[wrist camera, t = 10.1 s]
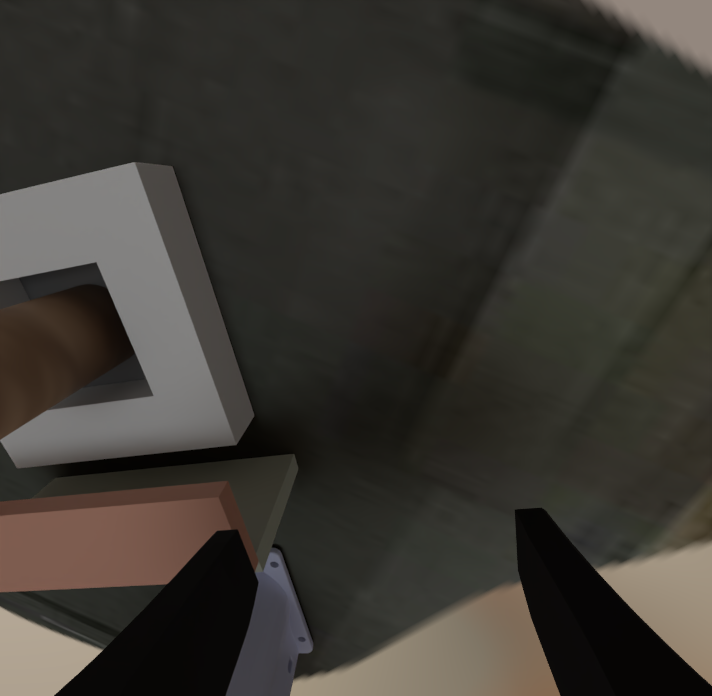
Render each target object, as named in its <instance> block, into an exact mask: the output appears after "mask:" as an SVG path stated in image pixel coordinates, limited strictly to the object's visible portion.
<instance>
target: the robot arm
mask: <svg viewBox="0 0 712 696" xmlns="http://www.w3.org/2000/svg"><path fill="white" fill-rule="evenodd" d="M515 521H516V540H517V560H518V572H519V575H520V579H521V583H522V587H523V590H524V594H525V597H526V601H527V605H528V608H529V612H530V615H531V618H532V621H533V624H534V627H535V629H536V632H537V635H538V637H539V640H540V642H541V645H542V648H543V651H544V653H545V656H546V659H547V661H548V664H549V667H550V669H551V672H552V674H553V677H554V680H555V682H556V685H557V688H558V690H559V693H560V695H561V696H712V686H711V685H710V684H709V683H708V682H707V681H706V680H705V679H703V678H702V677H701V676H700V675H699V674H698V673H697V672H696V671H695V670H694V669H693V668H692V667H691V666H689V665H688V664H687V663H686V662H685V661H684V660H683V659H682V658H681V657H680V656H679V655H678V654H677V653H676V652H675V651H674V650H673V649H672V648H671V647H669V646H668V645H667V644H666V643H665V642H664V641H663V640H662V639H661V638H660V637H659V636H658V635H657V634H656V633H655V632H654V631H653V630H652V629H651V628H650V627H649V626H648V625H647V624H646V623H645V622H644V621H643V620H642V619H641V618H640V617H639V616H638V615H637V614H636V613H635V612H634V611H633V610H632V609H631V608H630V607H629V606H628V604H626V602H624V600H623V599H622V598H621V597H620V596H619V595H618V594H617V593H616V592H615V591H614V590H613V589H612V587H611V586H610V585H609V584H608V583H607V582H606V581H605V580H604V579H603V578H602V577H601V576H600V575H599V573H598V572H597V571H596V570H595V569H594V568H593V567H592V566H591V565H590V563H589V562H588V561H587V560H586V559H585V558H584V557H583V555H582V554H581V553H580V552H579V551H578V550H577V548H576V547H575V546H574V545H573V544H572V543H571V541H570V540H569V539H568V538H567V537H566V535H565V534H564V533H563V532H562V531H561V529H560V528H559V527H558V526H557V524H556V523H555V522H554V521H553V519H552V518H551V517H550V515H549V514H548V513H547V511H545V510H544V509H543V508H532V509H517V510H515ZM312 650H313V641H312V638H311V635H310V632H309V630H308V627H307V624H306V621H305V618H304V615H303V613H302V610H301V607H300V604H299V601H298V598H297V596H296V593H295V590H294V587H293V584H292V581H291V578H290V576H289V573H288V570H287V567H286V564H285V561H284V559H283V556H282V553H281V551H280V550H278V549H277V548H271V550H270V553H269V556H268V559H267V562H266V565H265V568H264V570H263V572H254V569H253V567H252V564H251V561H250V559H249V556H248V554H247V551H246V549H245V546H244V544H243V541H242V539H241V536H240V534H239V531H238V529H234V530H220V531H216V532H215V533H214V534H213V535H212V536H211V537H210V539H209V540H208V541H207V542H206V543H205V544H204V545H203V546H202V547H201V548H200V549H199V550H198V551H197V553H196V554H195V555H194V556H193V557H192V558H191V559H190V560H189V561H188V562H187V563H186V565H185V566H184V567H183V568H182V569H181V570H180V571H179V572H178V573H177V574H176V576H175V577H174V578H173V579H172V580H171V581H170V582H169V583H168V584H167V585H166V586H165V587H164V588H163V589H162V591H161V592H160V593H159V594H158V595H157V596H156V597H155V598H154V599H153V600H152V601H151V602H150V603H149V605H148V606H147V607H146V608H145V609H144V610H143V611H142V612H141V613H140V614H139V615H138V616H137V617H136V618H135V619H134V620H133V621H132V622H131V623H130V624H129V625H128V626H127V627H126V628H125V629H124V630H123V631H122V632H121V633H120V634H119V635H118V636H117V637H116V638H115V639H114V640H113V641H112V642H111V643H110V644H109V645H108V646H107V647H106V648H105V649H104V650H103V651H102V652H101V653H100V654H99V655H98V656H97V657H96V658H95V659H94V660H93V661H92V662H90V663H89V664H88V665H87V666H86V667H85V668H84V669H83V670H82V671H81V672H80V673H79V674H78V675H76V676H75V677H74V678H73V679H72V680H71V681H70V682H69V683H68V684H66V685H65V686H64V687H63V688H62V689H61V690H60V691H59V692H58V693H56V695H54V696H290V692H291V687H292V683H293V678H294V673H295V668H296V663H297V658H298V654H299V653H310V652H311V651H312Z"/></svg>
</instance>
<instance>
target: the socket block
mask: <svg viewBox="0 0 712 696" xmlns="http://www.w3.org/2000/svg"><path fill="white" fill-rule="evenodd" d="M84 284H94V285H99V286H102V287H105V288H108V290H109V293H110V295H111V297H112V300H113V302H114V304H115V307H116V309H117V311H118V314H119V316H120V318H121V321H122V323H123V325H124V328H125V330H126V332H127V335H128V337H129V339H130V342H131V344H132V346H133V349H134V351H135V353H134V354H133V355H132V356H131V357H130V358H129V359H127V360H125V361H124V362H122V363H121V364H119V365H118V366H116V367H114V368H113V369H111V370H110V371H108V372H107V373H105V374H103V375H102V376H100V377H99V378H97V379H95V380H94V381H92V382H91V383H89V384H88V385H86V386H84V387H83V388H81V389H80V390H78V391H77V392H75V393H73V394H72V395H70V396H69V397H67V398H65V399H64V400H62V401H61V402H59V403H58V404H56V405H54V406H53V407H51V408H50V409H48V410H47V411H45V412H43V413H42V414H40V415H39V416H37V417H35V418H34V419H32V420H31V421H29V422H28V423H26V424H24V425H23V426H21V427H20V428H18V429H17V430H15V431H13V432H12V433H10V434H9V435H7V436H5V437H4V438H2V439H1V440H0V441H1V443H2V444H3V446H4V448H5V449H6V451H7V452H8V454H9V456H10V457H11V459H12V460H13V462H14V464H15V465H16V467H17V468H26V467H36V466H45V465H54V464H64V463H73V462H82V461H92V460H101V459H110V458H120V457H129V456H138V455H148V454H157V453H166V452H176V451H185V450H194V449H204V448H213V447H222V446H232V445H237V443H238V442H239V440H240V438H241V437H242V435H243V434H244V432H245V430H246V429H247V427H248V426H249V424H250V422H251V421H252V419H253V417H254V416H255V415H254V412H253V409H252V406H251V403H250V400H249V397H248V394H247V391H246V388H245V385H244V382H243V379H242V376H241V373H240V370H239V367H238V364H237V361H236V358H235V355H234V352H233V349H232V346H231V342H230V339H229V336H228V333H227V330H226V327H225V324H224V321H223V318H222V315H221V312H220V309H219V306H218V303H217V300H216V297H215V294H214V291H213V288H212V285H211V282H210V279H209V276H208V273H207V269H206V266H205V263H204V260H203V257H202V254H201V251H200V248H199V245H198V242H197V239H196V236H195V233H194V230H193V227H192V224H191V221H190V218H189V215H188V212H187V209H186V206H185V203H184V199H183V196H182V193H181V190H180V187H179V184H178V181H177V178H176V175H175V172H174V169H173V166H166V165H157V164H148V163H138V162H133V163H129V164H125V165H120V166H116V167H112V168H108V169H104V170H100V171H96V172H91V173H87V174H83V175H79V176H75V177H71V178H66V179H62V180H58V181H54V182H50V183H46V184H41V185H37V186H33V187H29V188H25V189H21V190H16V191H12V192H8V193H4V194H0V309H3V308H6V307H10V306H13V305H16V304H20V303H23V302H26V301H30V300H33V299H36V298H39V297H43V296H46V295H49V294H53V293H56V292H59V291H63V290H66V289H69V288H73V287H76V286H79V285H84Z"/></svg>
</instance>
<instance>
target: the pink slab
mask: <svg viewBox="0 0 712 696" xmlns="http://www.w3.org/2000/svg"><path fill="white" fill-rule="evenodd" d="M298 469H299V468H298V465H297V462H296V458H295V455H294V454H287V455H277V456H267V457H257V458H247V459H237V460H228V461H218V462H208V463H198V464H188V465H178V466H168V467H158V468H148V469H138V470H128V471H118V472H108V473H99V474H89V475H79V476H69V477H59V478H55V479H54V480H53V481H51V482H50V483H49V484H48V485H47V486H45V487H44V488H43V489H42V490H41V491H40V492H38V493H37V494H36V495H35V496H34V497H33V498H31V499H25V500H14V501H3V502H0V592H15V591H36V590H57V589H77V588H98V587H119V586H140V585H160V584H168V583H169V582H170V581H171V580H172V579H173V578H174V577H175V576H176V574H177V573H178V572H179V571H180V570H181V569H182V568H183V567H184V566H185V565H186V563H187V562H188V561H189V560H190V559H191V558H192V557H193V556H194V555H195V554H196V553H197V551H198V550H199V549H200V548H201V547H202V546H203V545H204V544H205V543H206V542H207V541H208V540H209V539H210V537H211V536H212V535H213V534H214V533H215V532H216V531H220V530H234V529H238V531H239V534H240V536H241V539H242V541H243V544H244V546H245V549H246V551H247V554H248V556H249V559H250V561H251V564H252V567H253V569H254V572H263V570H264V568H265V565H266V562H267V559H268V556H269V553H270V550H271V547H272V544H273V541H274V539H275V536H276V533H277V530H278V527H279V524H280V521H281V518H282V515H283V512H284V510H285V507H286V504H287V501H288V498H289V495H290V492H291V489H292V486H293V484H294V481H295V478H296V475H297V472H298Z"/></svg>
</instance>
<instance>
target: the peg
mask: <svg viewBox="0 0 712 696" xmlns="http://www.w3.org/2000/svg"><path fill="white" fill-rule="evenodd" d="M134 353H135V351H134V349H133V346H132V344H131V342H130V339H129V337H128V335H127V332H126V330H125V328H124V325H123V323H122V321H121V318H120V316H119V314H118V311H117V309H116V307H115V304H114V302H113V300H112V297H111V295H110V293H109V290H108V288H105V287H102V286H99V285H94V284H84V285H79V286H76V287H73V288H69V289H66V290H63V291H59V292H56V293H53V294H49V295H46V296H43V297H39V298H36V299H33V300H30V301H26V302H23V303H20V304H16V305H13V306H10V307H6V308H3V309H0V440H1V439H2V438H4V437H5V436H7V435H9V434H10V433H12V432H13V431H15V430H17V429H18V428H20V427H21V426H23V425H24V424H26V423H28V422H29V421H31V420H32V419H34V418H35V417H37V416H39V415H40V414H42V413H43V412H45V411H47V410H48V409H50V408H51V407H53V406H54V405H56V404H58V403H59V402H61V401H62V400H64V399H65V398H67V397H69V396H70V395H72V394H73V393H75V392H77V391H78V390H80V389H81V388H83V387H84V386H86V385H88V384H89V383H91V382H92V381H94V380H95V379H97V378H99V377H100V376H102V375H103V374H105V373H107V372H108V371H110V370H111V369H113V368H114V367H116V366H118V365H119V364H121V363H122V362H124V361H125V360H127V359H129V358H130V357H131V356H132V355H133V354H134Z"/></svg>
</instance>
